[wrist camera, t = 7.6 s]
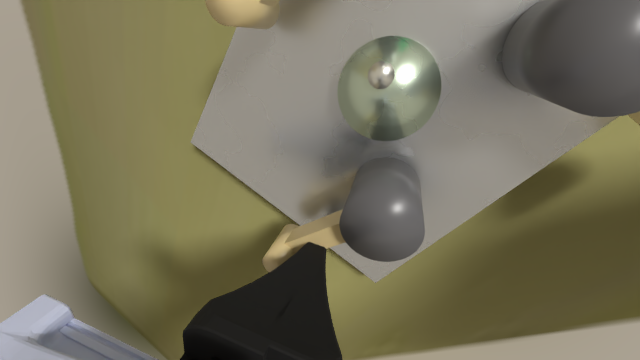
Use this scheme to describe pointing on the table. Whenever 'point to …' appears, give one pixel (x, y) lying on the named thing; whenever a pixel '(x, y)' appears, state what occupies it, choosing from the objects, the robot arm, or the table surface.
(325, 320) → the robot arm
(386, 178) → the knob
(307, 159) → the tribrach plate
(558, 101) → the knob
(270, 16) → the knob
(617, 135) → the table surface
